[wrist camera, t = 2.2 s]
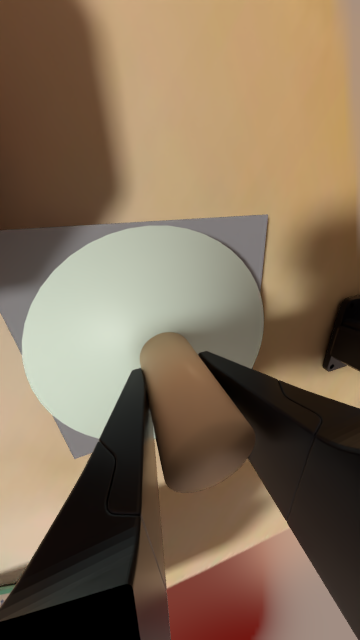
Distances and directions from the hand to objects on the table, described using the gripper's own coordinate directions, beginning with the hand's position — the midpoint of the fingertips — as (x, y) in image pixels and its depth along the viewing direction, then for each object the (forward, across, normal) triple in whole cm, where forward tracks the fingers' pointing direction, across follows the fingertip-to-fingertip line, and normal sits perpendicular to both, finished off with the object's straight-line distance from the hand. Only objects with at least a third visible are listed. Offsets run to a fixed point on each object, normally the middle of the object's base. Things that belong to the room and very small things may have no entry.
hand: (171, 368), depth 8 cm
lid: (+2, 0, 0) cm, 2 cm away
